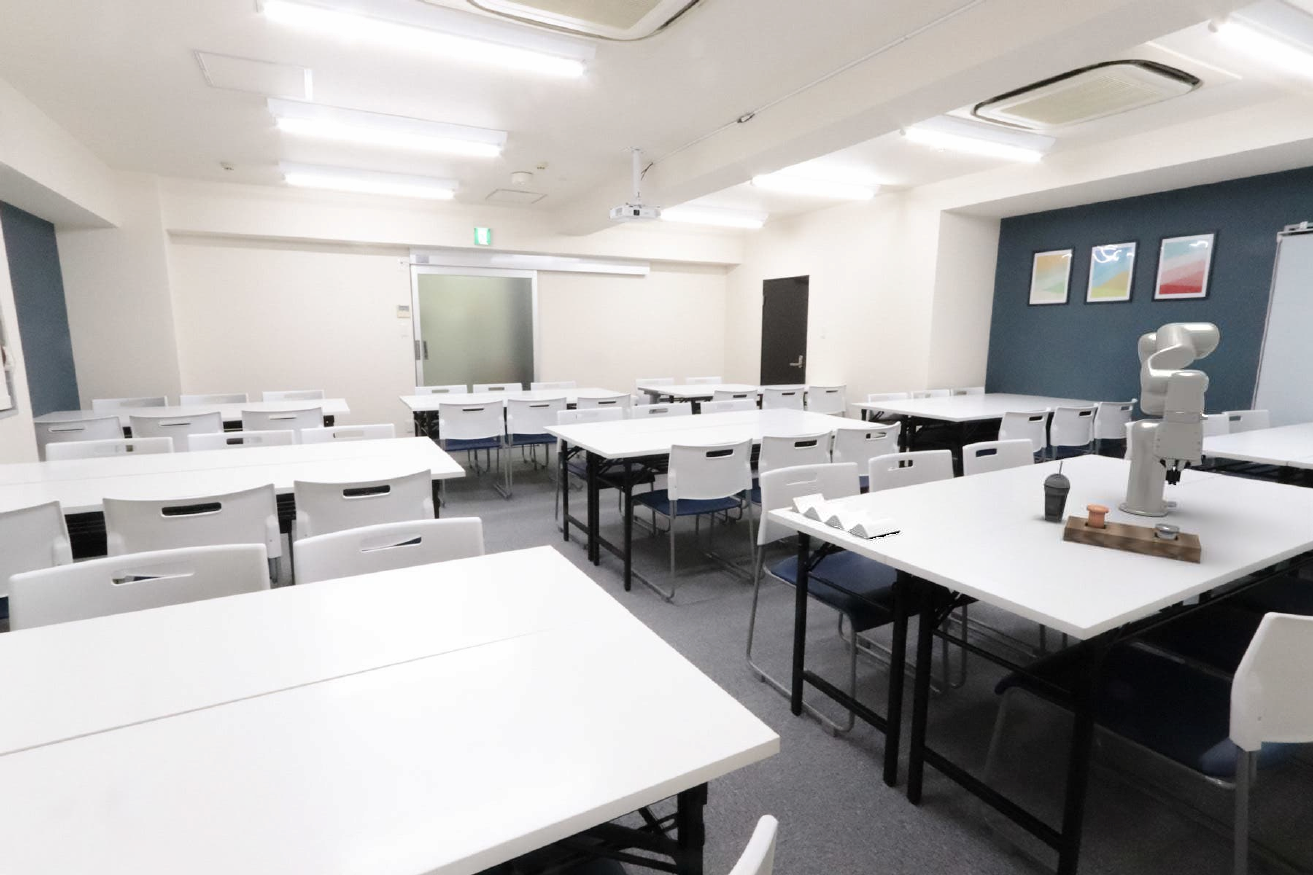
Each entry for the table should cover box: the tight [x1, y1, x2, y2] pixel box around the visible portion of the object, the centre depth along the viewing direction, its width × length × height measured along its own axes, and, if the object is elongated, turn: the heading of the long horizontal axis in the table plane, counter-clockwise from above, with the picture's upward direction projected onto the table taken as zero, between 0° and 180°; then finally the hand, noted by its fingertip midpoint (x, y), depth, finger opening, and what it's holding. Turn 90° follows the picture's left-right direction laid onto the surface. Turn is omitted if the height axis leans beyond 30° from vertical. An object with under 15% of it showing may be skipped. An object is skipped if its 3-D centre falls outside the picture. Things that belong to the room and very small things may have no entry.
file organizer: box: [791, 492, 901, 540], centre depth 195 cm, size 13×35×5 cm, turn 28°
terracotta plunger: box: [1086, 504, 1110, 529], centre depth 177 cm, size 5×5×6 cm
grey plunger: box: [1154, 523, 1181, 540], centre depth 167 cm, size 5×5×6 cm
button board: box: [1062, 515, 1203, 564], centre depth 173 cm, size 30×14×4 cm, turn 52°
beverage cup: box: [1043, 460, 1071, 524], centre depth 193 cm, size 7×7×20 cm
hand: (1171, 483), depth 165 cm, fingers closed
